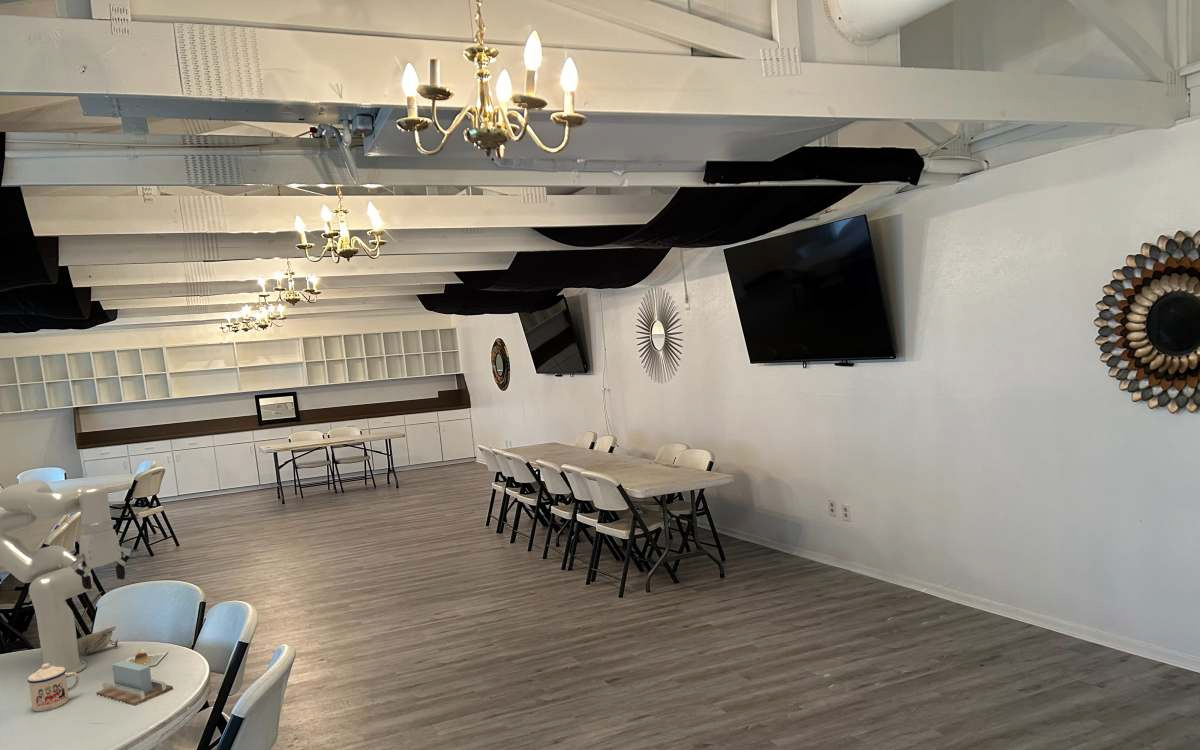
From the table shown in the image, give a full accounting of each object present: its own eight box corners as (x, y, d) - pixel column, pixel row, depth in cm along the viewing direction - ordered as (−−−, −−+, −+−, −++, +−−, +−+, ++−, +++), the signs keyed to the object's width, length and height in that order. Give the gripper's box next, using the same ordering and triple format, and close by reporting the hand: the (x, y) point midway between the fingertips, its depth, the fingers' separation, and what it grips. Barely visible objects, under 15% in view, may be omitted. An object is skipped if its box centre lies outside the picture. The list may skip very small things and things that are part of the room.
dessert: (114, 675, 254) (112, 659, 254) (128, 660, 266) (126, 646, 266) (156, 668, 256) (154, 653, 256) (168, 654, 268) (167, 640, 268)
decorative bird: (63, 658, 274) (60, 636, 274) (119, 645, 282) (116, 623, 281) (62, 663, 269) (59, 640, 269) (119, 649, 277) (116, 627, 277)
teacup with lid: (34, 715, 227) (28, 673, 227) (29, 706, 234) (23, 666, 234) (84, 699, 235) (79, 659, 235) (78, 691, 242) (73, 652, 241)
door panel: (115, 688, 239) (112, 664, 239) (125, 684, 242) (122, 660, 241) (142, 695, 232) (139, 670, 231) (152, 690, 234) (149, 666, 234)
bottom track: (96, 695, 237) (95, 685, 237) (134, 679, 247) (133, 670, 247) (134, 705, 227) (133, 695, 227) (173, 688, 236) (171, 679, 236)
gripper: (119, 520, 259) (126, 574, 260) (60, 534, 245) (68, 591, 245) (133, 521, 255) (140, 576, 256) (73, 535, 241) (81, 593, 242)
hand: (104, 583), depth 251 cm, fingers open, 9 cm apart
